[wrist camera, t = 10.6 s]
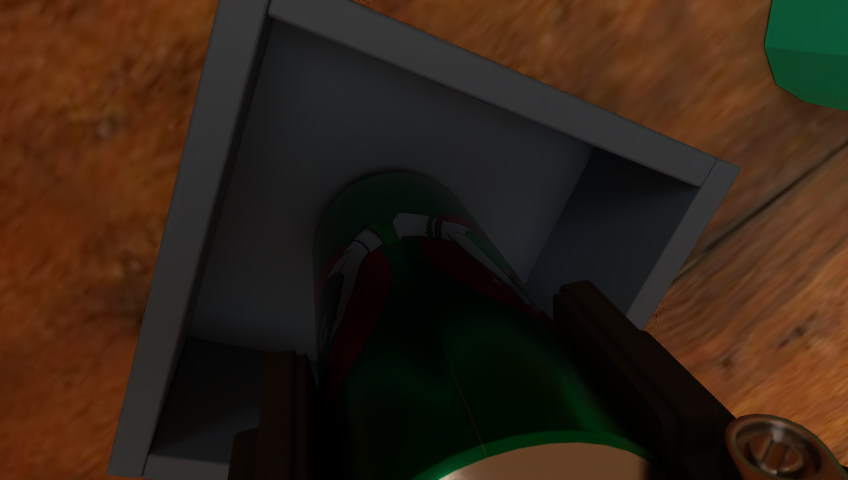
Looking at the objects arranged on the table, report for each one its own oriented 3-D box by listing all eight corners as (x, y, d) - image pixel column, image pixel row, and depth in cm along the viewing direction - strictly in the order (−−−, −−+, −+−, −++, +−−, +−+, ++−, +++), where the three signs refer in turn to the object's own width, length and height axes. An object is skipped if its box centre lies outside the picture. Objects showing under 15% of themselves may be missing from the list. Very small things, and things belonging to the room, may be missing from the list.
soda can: (339, 328, 18) (395, 818, 7) (288, 192, 16) (263, 621, 5) (480, 283, 18) (728, 685, 8) (451, 145, 16) (749, 446, 5)
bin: (160, 340, 18) (105, 476, 13) (256, -36, 14) (230, -52, 9) (476, 398, 22) (528, 519, 17) (620, 119, 18) (743, 168, 13)
